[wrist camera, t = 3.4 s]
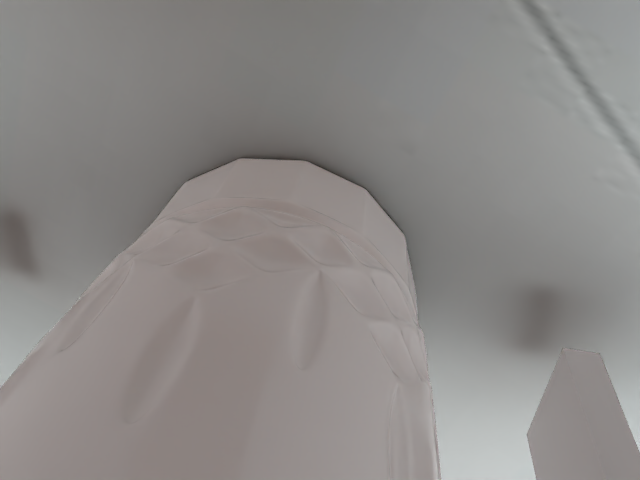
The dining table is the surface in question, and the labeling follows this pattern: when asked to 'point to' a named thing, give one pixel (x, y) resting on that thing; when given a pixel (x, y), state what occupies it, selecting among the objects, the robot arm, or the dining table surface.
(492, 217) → the dining table surface
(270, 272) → the white cup
